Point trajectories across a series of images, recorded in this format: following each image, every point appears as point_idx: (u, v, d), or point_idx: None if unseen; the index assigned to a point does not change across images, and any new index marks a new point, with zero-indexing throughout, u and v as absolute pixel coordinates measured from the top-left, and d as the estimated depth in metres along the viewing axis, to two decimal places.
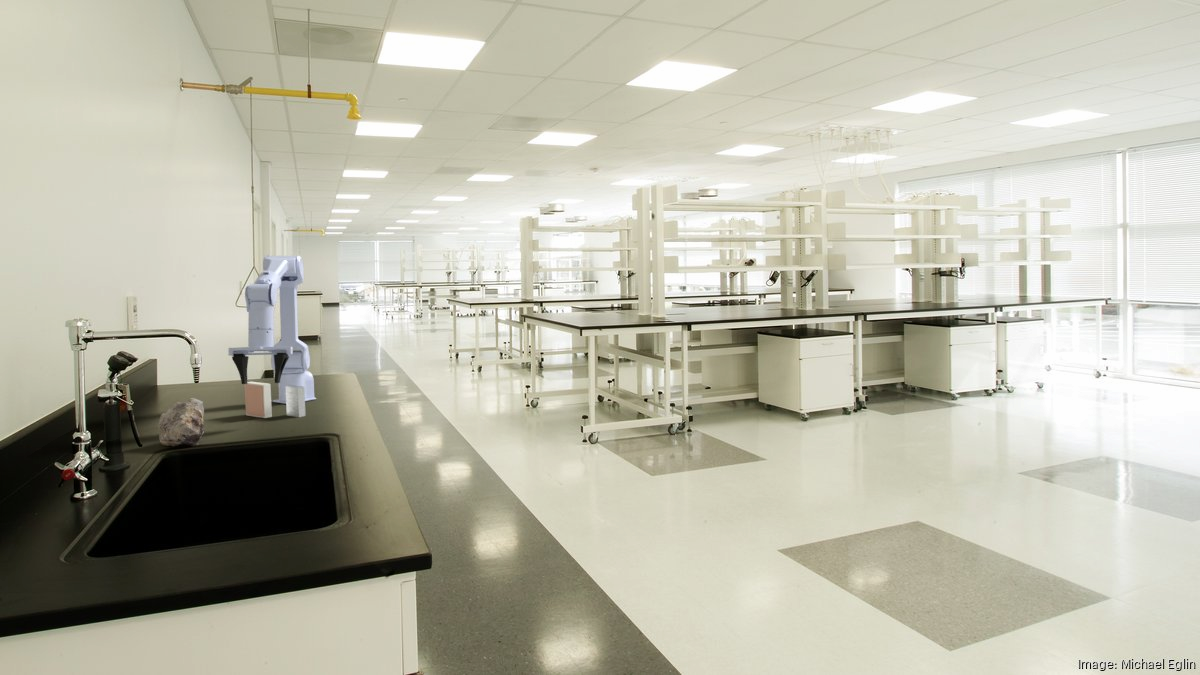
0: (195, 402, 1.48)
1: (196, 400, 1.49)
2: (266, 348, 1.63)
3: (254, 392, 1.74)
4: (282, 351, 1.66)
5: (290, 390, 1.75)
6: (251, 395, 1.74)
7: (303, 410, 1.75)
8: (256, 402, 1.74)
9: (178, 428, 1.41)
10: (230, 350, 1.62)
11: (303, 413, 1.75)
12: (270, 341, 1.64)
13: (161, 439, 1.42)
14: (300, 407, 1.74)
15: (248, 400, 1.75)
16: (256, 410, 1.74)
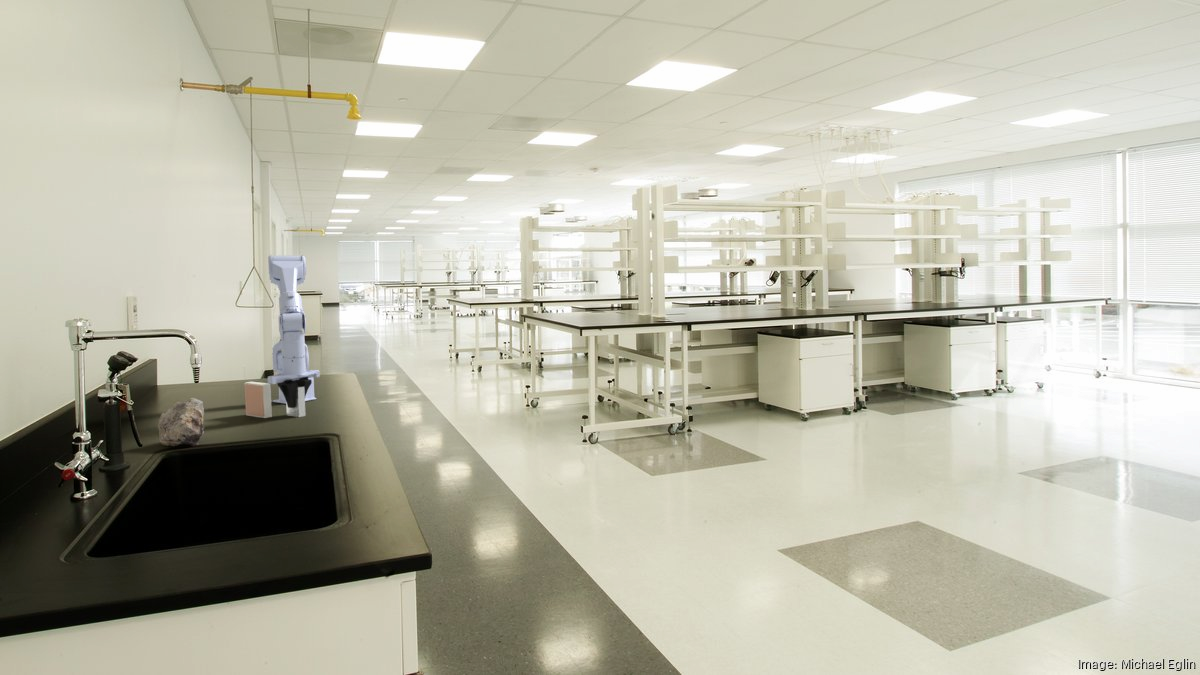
0: (195, 402, 1.48)
1: (196, 400, 1.49)
2: (306, 374, 1.76)
3: (254, 392, 1.74)
4: (311, 375, 1.80)
5: None
6: (251, 395, 1.74)
7: (303, 410, 1.75)
8: (256, 402, 1.74)
9: (178, 428, 1.41)
10: (274, 379, 1.69)
11: (303, 413, 1.75)
12: None
13: (161, 439, 1.42)
14: (300, 407, 1.74)
15: (248, 400, 1.75)
16: (256, 410, 1.74)
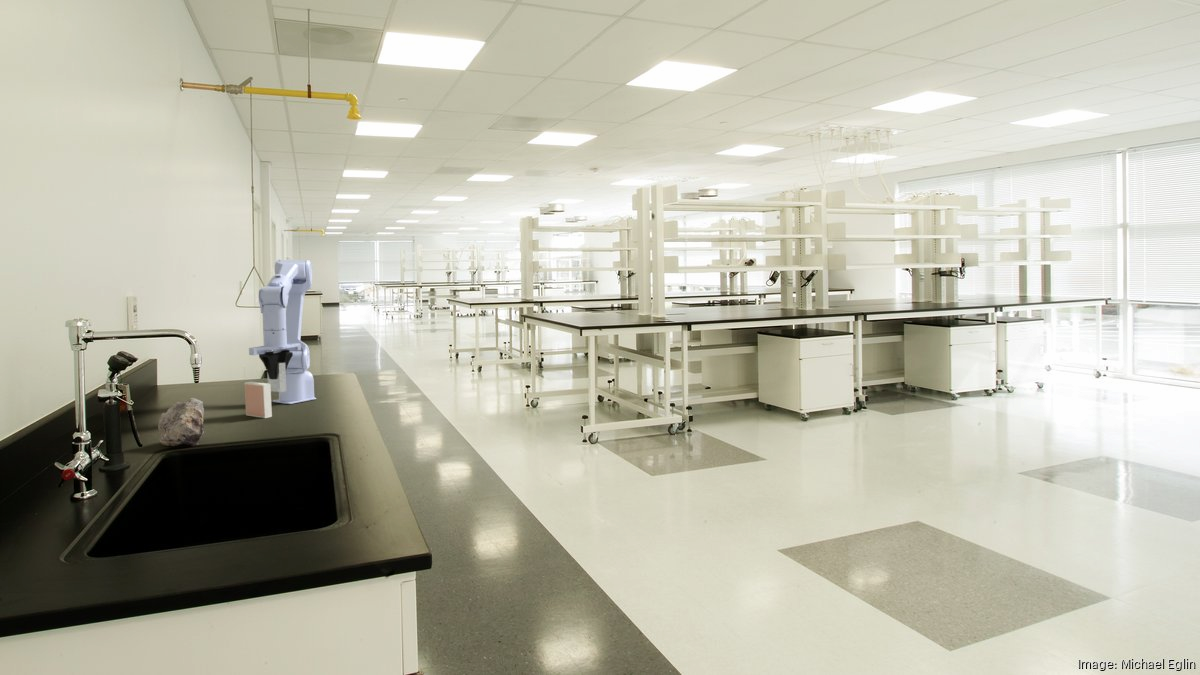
0: (195, 402, 1.48)
1: (196, 400, 1.49)
2: (288, 347, 1.80)
3: (254, 392, 1.74)
4: (292, 348, 1.84)
5: None
6: (251, 395, 1.74)
7: (284, 385, 1.79)
8: (256, 402, 1.74)
9: (178, 428, 1.41)
10: (255, 350, 1.73)
11: (284, 388, 1.79)
12: None
13: (161, 439, 1.42)
14: (281, 382, 1.79)
15: (248, 400, 1.75)
16: (256, 410, 1.74)
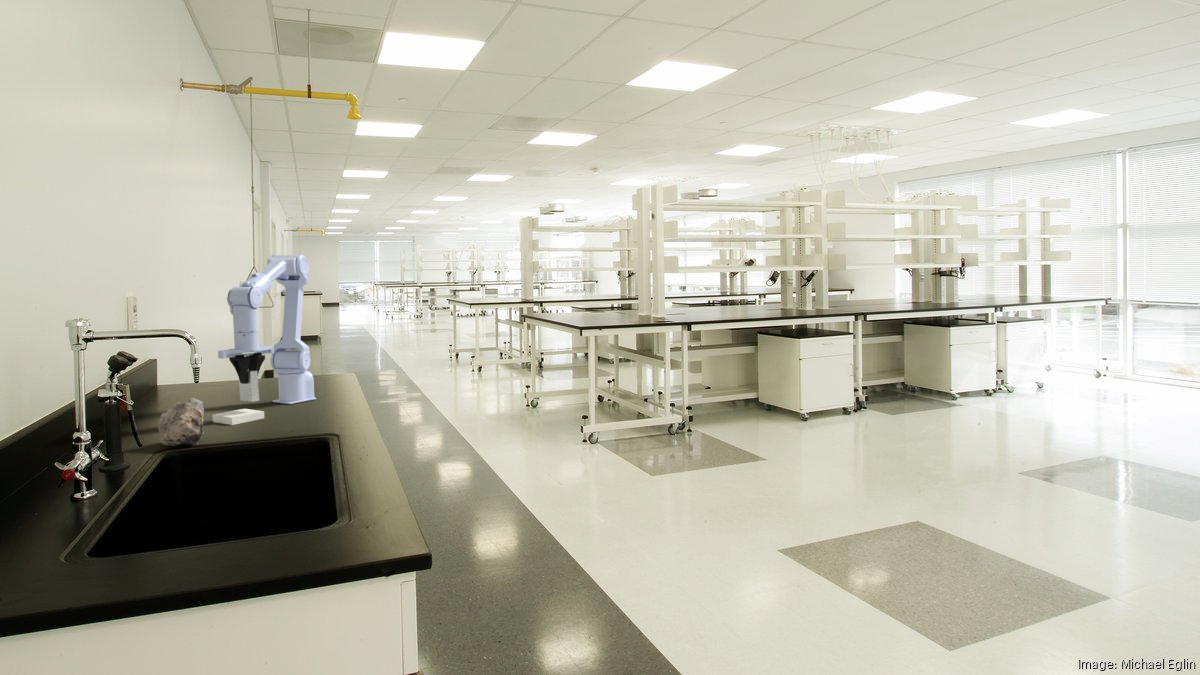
0: (195, 402, 1.48)
1: (196, 400, 1.49)
2: (260, 350, 1.72)
3: None
4: (265, 351, 1.76)
5: None
6: None
7: (256, 395, 1.72)
8: None
9: (178, 428, 1.41)
10: (224, 353, 1.65)
11: (257, 398, 1.72)
12: None
13: (161, 439, 1.42)
14: (253, 391, 1.71)
15: None
16: None
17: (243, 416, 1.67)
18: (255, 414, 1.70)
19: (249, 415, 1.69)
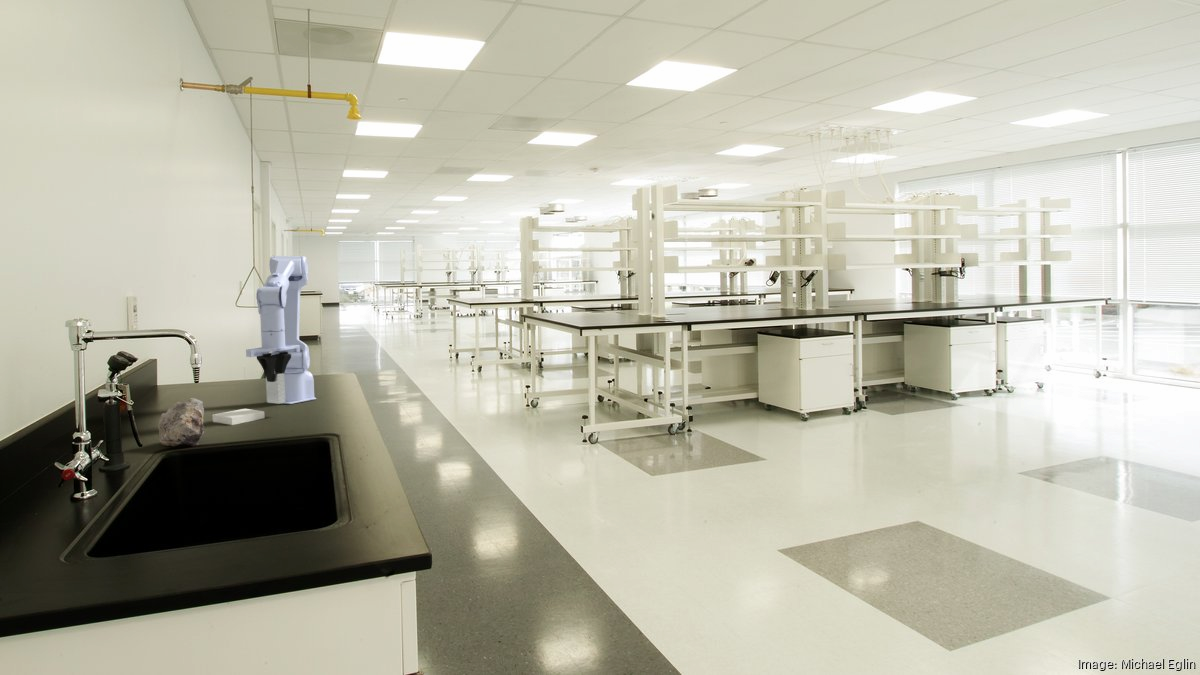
0: (195, 402, 1.48)
1: (196, 400, 1.49)
2: (286, 348, 1.75)
3: None
4: (291, 349, 1.79)
5: None
6: None
7: (283, 397, 1.75)
8: None
9: (178, 428, 1.41)
10: (252, 352, 1.68)
11: (283, 400, 1.75)
12: None
13: (161, 439, 1.42)
14: (280, 394, 1.74)
15: None
16: None
17: (243, 416, 1.67)
18: (255, 414, 1.70)
19: (249, 415, 1.69)
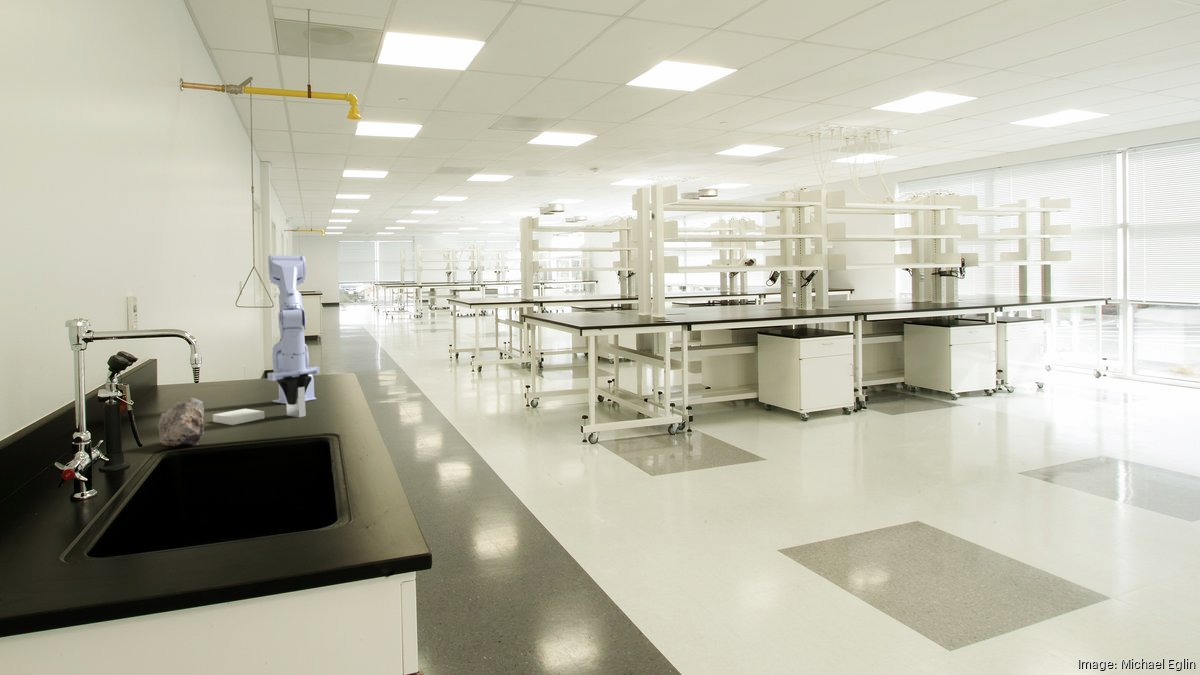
0: (195, 402, 1.48)
1: (196, 400, 1.49)
2: (306, 371, 1.76)
3: None
4: (311, 371, 1.79)
5: None
6: None
7: (303, 410, 1.75)
8: None
9: (178, 428, 1.41)
10: (274, 376, 1.69)
11: (303, 413, 1.75)
12: None
13: (161, 439, 1.42)
14: (300, 407, 1.74)
15: None
16: None
17: (243, 416, 1.67)
18: (255, 414, 1.70)
19: (249, 415, 1.69)
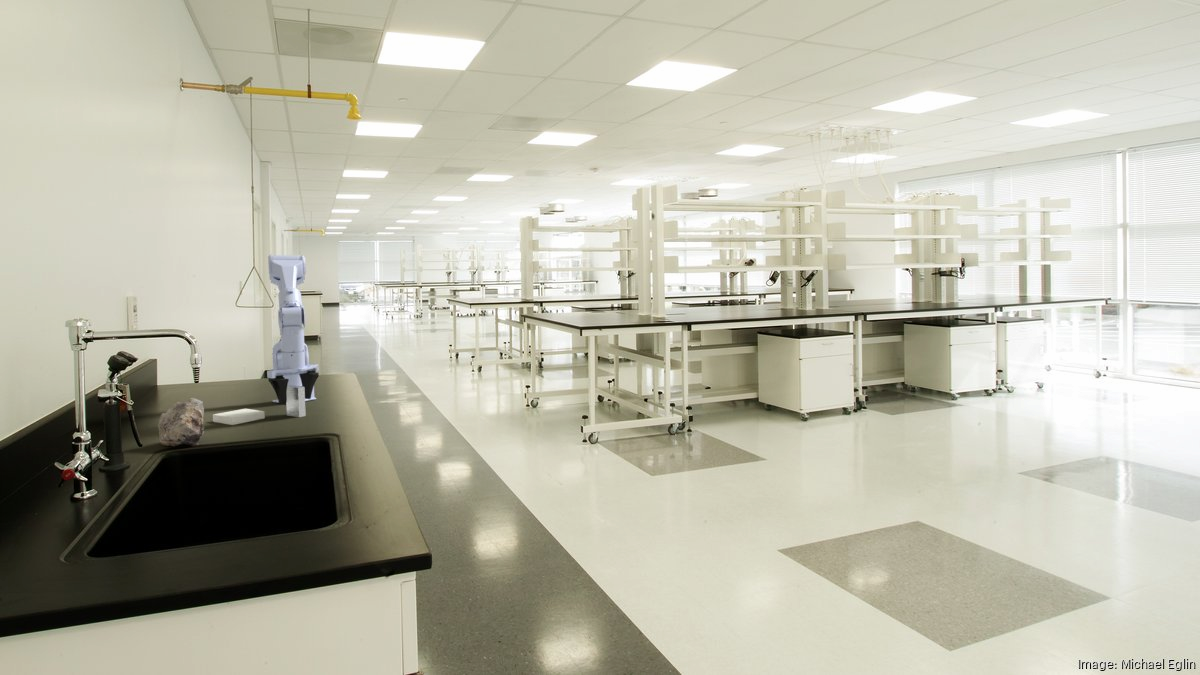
0: (195, 402, 1.48)
1: (196, 400, 1.49)
2: (306, 369, 1.76)
3: None
4: (310, 369, 1.80)
5: (290, 390, 1.75)
6: None
7: (303, 410, 1.75)
8: None
9: (178, 428, 1.41)
10: (273, 373, 1.69)
11: (303, 413, 1.75)
12: None
13: (161, 439, 1.42)
14: (300, 407, 1.74)
15: None
16: None
17: (243, 416, 1.67)
18: (255, 414, 1.70)
19: (249, 415, 1.69)
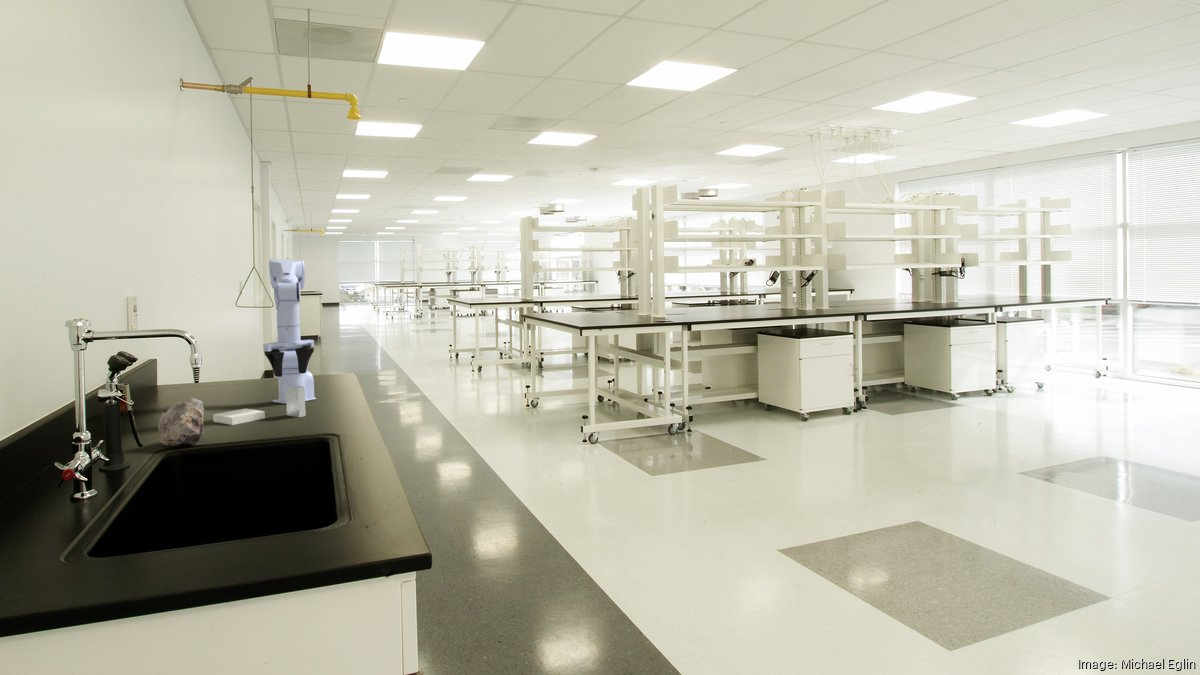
0: (195, 402, 1.48)
1: (196, 400, 1.49)
2: (301, 343, 1.80)
3: None
4: (306, 344, 1.84)
5: (290, 390, 1.75)
6: None
7: (303, 410, 1.75)
8: None
9: (178, 428, 1.41)
10: (269, 346, 1.73)
11: (303, 413, 1.75)
12: None
13: (161, 439, 1.42)
14: (300, 407, 1.74)
15: None
16: None
17: (243, 416, 1.67)
18: (255, 414, 1.70)
19: (249, 415, 1.69)
